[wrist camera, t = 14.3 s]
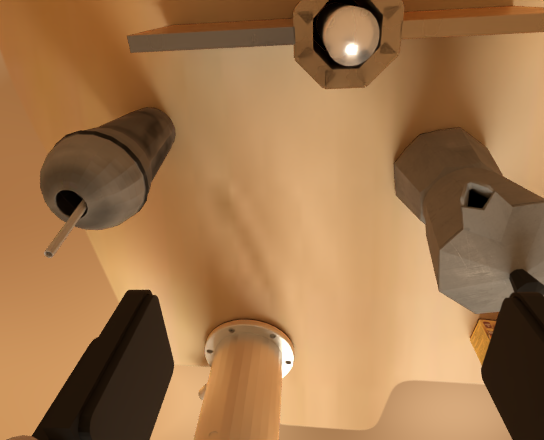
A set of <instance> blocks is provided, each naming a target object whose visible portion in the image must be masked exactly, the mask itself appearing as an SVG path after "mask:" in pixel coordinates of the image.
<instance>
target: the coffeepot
mask: <svg viewBox="0 0 544 440" xmlns="http://www.w3.org/2000/svg"><path fill="white" fill-rule="evenodd" d="M394 179H395V190H396V196H397V197H398V198H399V199H400V200H401V201H402V202H403V203H404V204H405V205H406V206H407V207H408V208H409V209H410V210H411V211H412V212H413V213H414V214H415V215H416V216H417V218H418V219H419V220H420V221H422V222H423V223H424V224H425V225H426V237H427V241H428V245H429V250H430V254H431V258H432V263H433V267H434V271H435V276H436V280H437V284H438V289H439V292H441V293H443V294H444V295H446V296H447V297H449V298H451V299H452V300H454V301H456V302H457V303H459V304H460V305H462V306H464V307H465V308H467V309H469V310H470V311H472V312H474V313H475V314H481V313H491V312H500V309H501V305H502V302H503V300H504V299H505V298H509V296H510V294H512V293H513V292H538V293H541V294H542V295H543V296H544V198H542V197H540V196H538V195H536V194H534V193H533V192H531V191H529V190H527V189H525V188H523V187H521V186H520V185H518V184H516V183H514V182H512V181H510V180H509V179H507V178H505V177H503V175H502V173H501V171H500V170H499V168H498V166H497V164H496V163H495V161H494V159H493V157H492V156H491V154H490V152H489V150H488V149H487V148H486V147H485V146H484V145H482V144H481V143H480V142H479V141H477V140H476V139H475V138H473V137H472V136H471V135H469V134H468V133H467V132H465V131H464V130H463V129H461V128H453V129H445V130H437V131H433V132H430V133H426V134H420V135H419V136H418V137H417V138H416V139H415V140H414V141H413V142H412V143H411V144H410V145H409V146H408V147H407V148H406V149H405V150H404V152H403V153H402V154H401V156H400V157H399V159H398V160H397V161H396V162H395V163H394Z"/></svg>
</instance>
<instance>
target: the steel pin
mask: <svg viewBox="0 0 544 440" xmlns="http://www.w3.org/2000/svg"><path fill="white" fill-rule="evenodd" d="M316 27H317V31H318V34H319V36H320V38H321V39H322V41H323V43H324V45H325V47H326V49H327V51H328V53H329V55H330V56H331V57H332V58H333V60H335V61H336V62H337V63H339V64H342V65H345V66H354V65H358V64H361V63H363V62H364V61H366V60H367V59H368V58H369V57H370V56H371V55H372V54H373V53H374V51H375V49H376V47H377V45H378V41H379V26H378V22H377V20H376V19H375V17H374V16H373V14H372V13H370V12H369V11H368V10H366V9H364V8H360V7H356V6H351V5H347V4H342V3H330V4H328V5H326V6H325V7H324V8H323V9H322V10H321V11H320V13H319V15H318V17H317V21H316Z"/></svg>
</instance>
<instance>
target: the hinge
mask: <svg viewBox="0 0 544 440" xmlns="http://www.w3.org/2000/svg"><path fill="white" fill-rule="evenodd" d="M328 1H329V0H300V2H299V3H298V4H297V5H296V7H295V9H294V11H293V18H289V19H271V20H254V21H236V22H218V23H200V24H183V25H170V26H166V27H162V28H157V29H153V30H149V31H145V32H141V33H137V34H132V35H128V36H127V38H128V43H129V47H130V52H131V53H134V52H154V51H174V50H194V49H214V48H234V47H254V46H274V45H294V58H295V61H296V62H297V63H298V64H299V65H300V66H301V67H302V68H303V69H304V70H305V71H306V72H307V73H308V74H309V75H310V76H311V77H312V78H313V79H314V80H315V81H316V82H317V83H318V84H319V85H320V86H321V87H322V88H325V89H341V88H365V86H366V87H367V86H368V85H369V84H370V83H371V82H372V81H373V80H374V79H375V78H376V77H377V76H378V75H379V74H380V73H381V72H382V71H383V70H384V69H385V68H386V67H387V66H388V65H389V64H390V63H391V62H392V61H393V60H394V59H395V58H396V57H397V56H398V54H397V53H399V52H400V43H401V39H413V38H433V37H453V36H473V35H493V34H512V33H532V32H544V8H542V7H525V6H502V7H484V8H466V9H449V10H431V11H413V12H404V7H405V5H403V4H404V3H403V1H402V0H354V1H355V2H356V3H357V4H358V5H359V7H360V8H364V9H366V10H368V11H369V12H370V13H372V14H373V16H374V17H375V19H376V20H377V22H378V26H379V41H378V45H377V47H376V49H375V51H374V53H373V54H372V55H371V56H370V57H369V58H368V59H367V60H366V61H364V62H363V63H361V64H358V65H354V66H345V65H342V64H339V63H337V62H336V61H335V60H333V58H332V57H331V56H330V55H329V53H328V51H327V50H324V49H323V48H322V47H321V46H320V45H319V44H318V43H317V42H316V41H315V40H314V39H313V18H314V17H315V16H316V15H317V13H318V12H319V11H320V10H321V9H322V8H323V6H324V5H325V4H326V3H327V2H328Z"/></svg>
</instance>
